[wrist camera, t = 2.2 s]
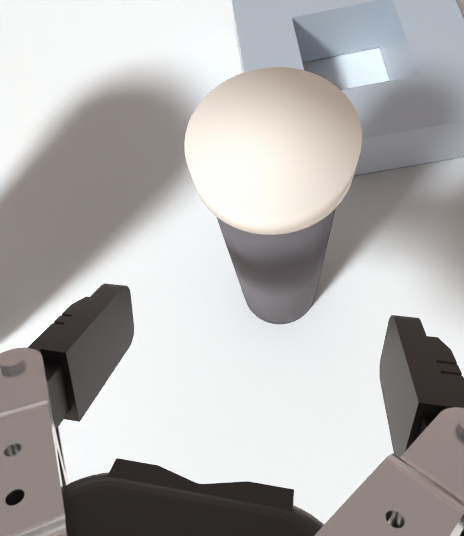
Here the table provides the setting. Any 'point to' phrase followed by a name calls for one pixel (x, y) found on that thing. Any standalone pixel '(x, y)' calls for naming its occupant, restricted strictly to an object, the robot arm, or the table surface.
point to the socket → (396, 62)
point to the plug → (274, 178)
